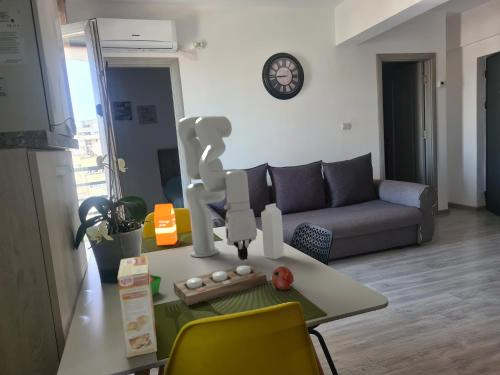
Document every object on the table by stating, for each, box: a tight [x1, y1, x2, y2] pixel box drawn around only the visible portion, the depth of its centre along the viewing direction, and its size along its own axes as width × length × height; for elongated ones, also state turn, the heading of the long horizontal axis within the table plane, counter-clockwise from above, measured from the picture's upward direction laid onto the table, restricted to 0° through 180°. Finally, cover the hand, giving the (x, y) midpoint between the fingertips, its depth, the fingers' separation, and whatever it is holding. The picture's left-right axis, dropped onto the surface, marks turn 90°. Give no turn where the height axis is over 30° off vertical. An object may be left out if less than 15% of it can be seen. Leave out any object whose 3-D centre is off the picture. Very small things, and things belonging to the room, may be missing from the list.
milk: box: [260, 202, 285, 261], centre depth 147 cm, size 6×6×22 cm
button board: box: [173, 263, 268, 307], centre depth 120 cm, size 14×28×3 cm, turn 119°
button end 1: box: [187, 277, 202, 290], centre depth 116 cm, size 5×5×2 cm
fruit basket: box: [150, 274, 162, 296], centre depth 117 cm, size 11×9×11 cm
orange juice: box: [153, 203, 178, 246], centre depth 182 cm, size 8×9×20 cm
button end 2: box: [237, 265, 251, 277], centre depth 125 cm, size 5×5×2 cm
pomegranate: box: [271, 265, 295, 291], centre depth 116 cm, size 7×7×10 cm
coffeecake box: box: [117, 255, 158, 358], centre depth 90 cm, size 15×7×20 cm, turn 17°
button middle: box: [213, 271, 227, 283], centre depth 120 cm, size 5×5×2 cm
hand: (243, 259), depth 124 cm, fingers closed
